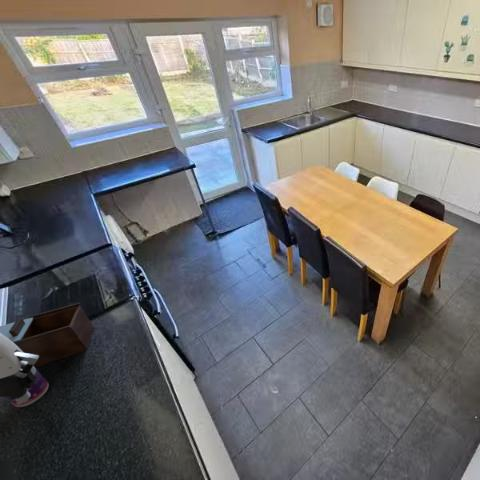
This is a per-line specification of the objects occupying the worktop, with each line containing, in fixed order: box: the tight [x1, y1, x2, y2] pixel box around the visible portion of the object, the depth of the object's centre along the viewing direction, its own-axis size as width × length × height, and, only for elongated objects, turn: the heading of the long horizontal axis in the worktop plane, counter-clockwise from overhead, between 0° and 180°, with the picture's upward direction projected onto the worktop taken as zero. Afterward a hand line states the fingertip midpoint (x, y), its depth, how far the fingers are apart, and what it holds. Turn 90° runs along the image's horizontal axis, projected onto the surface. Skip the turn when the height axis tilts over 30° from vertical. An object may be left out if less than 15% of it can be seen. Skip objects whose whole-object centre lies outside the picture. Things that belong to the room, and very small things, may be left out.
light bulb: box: [0, 374, 31, 403], centre depth 67 cm, size 6×6×10 cm
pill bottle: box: [5, 361, 50, 408], centre depth 79 cm, size 8×8×14 cm
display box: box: [13, 302, 95, 368], centre depth 95 cm, size 15×13×13 cm
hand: (14, 388), depth 67 cm, fingers closed on light bulb, 5 cm apart
